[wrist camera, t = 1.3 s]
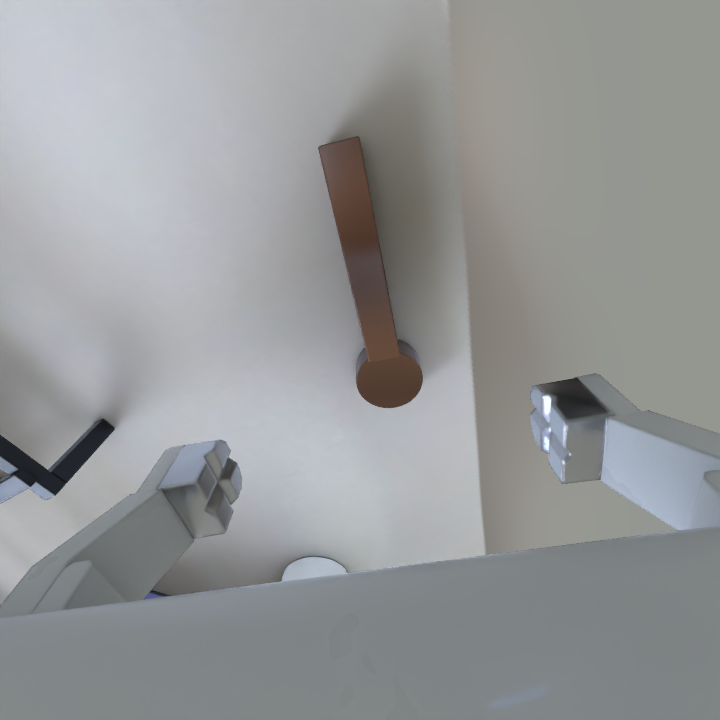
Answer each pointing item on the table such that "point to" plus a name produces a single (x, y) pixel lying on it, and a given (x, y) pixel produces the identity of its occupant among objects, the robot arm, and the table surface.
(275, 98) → the table surface
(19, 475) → the rack
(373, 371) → the plank on round base
